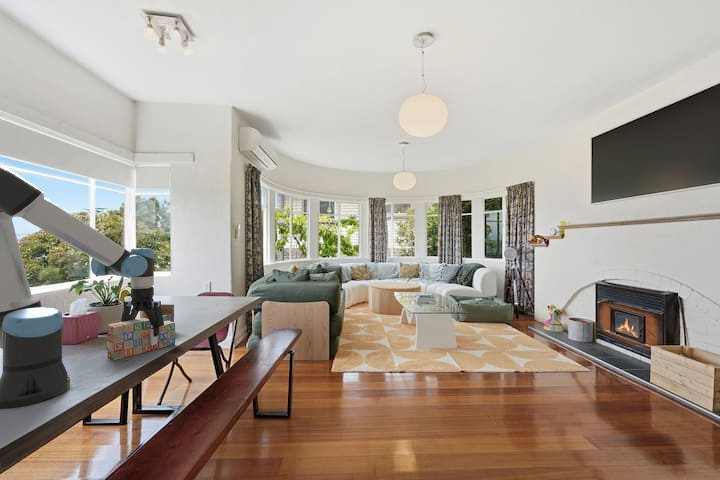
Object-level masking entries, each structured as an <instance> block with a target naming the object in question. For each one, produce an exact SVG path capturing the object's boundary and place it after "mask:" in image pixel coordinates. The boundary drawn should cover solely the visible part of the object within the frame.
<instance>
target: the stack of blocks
mask: <svg viewBox="0 0 720 480" xmlns="http://www.w3.org/2000/svg"><path fill="white" fill-rule="evenodd" d="M151 328H153V327H152V325H151V323H150V321H149V319H146V318H141V319H140V318H135V320H129V321H125V322H121V321H119V322H115V323H110V324H107V335H106V336H107V337H106V338H107V342H108V348H107V357H108V359H109V358H110V359H111V360H113V361H115V360H116V361H117V360H121V359H124V358H129V357H132V356H136V355H140V354H143V353H147V352H150V351H155V350H159V349H163V348H166V347H171V346H173V345H175V344H176V322H175V321H174V322H171V321H164V325H163V326H160V327H159V335H158V336H157V344H155V345H153V346H150V340H151Z"/></svg>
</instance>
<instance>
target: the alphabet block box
mask: <svg viewBox="0 0 720 480" xmlns="http://www.w3.org/2000/svg"><path fill="white" fill-rule="evenodd" d="M152 305H153V304H152ZM152 307H153V306H152ZM161 311H162V316H163V321H171V322H175V304H169V303H168V304H166V303H165V304H164V303H163V304H162V303H161ZM153 312H154V309H153ZM141 318H146V319H148V317H147V315H146V313H144V311H139V319H141ZM106 349H108V341H107V342H106Z"/></svg>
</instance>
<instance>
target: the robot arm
mask: <svg viewBox="0 0 720 480" xmlns="http://www.w3.org/2000/svg"><path fill="white" fill-rule="evenodd" d="M15 217H16V218H17V217H18V218H22V219H23V220H25V221H27V222H28V223H30V224H32V225H34V226H35V227H38V228H39V229H41V230H43V231H45V232H46V233H48V234H49V235H51V236H53V237H55V238H56V239H58V240H60V241H62V242H64V243H65V244H67V245H69V246H71V247H72V248H74V249H76V250H78V251H79V252H81V253H83V254H85V255H87V256H89V257H90V258H91V260H90V261H91V262H90V268H91V272H92V273H93V275H95V276H110V275H113V276H119V277H121V276H122V277H126V278H130V287H131V288H130V298H131V300H126V301H125V300H124V301H123V308H122V309H123V310H122V315H121V319H120V322H125V321H129V320H135V319H137V317H138V314H139V313H140V311H144V313H146V315H147V317H148V319H149V321H150V323H151V325H152V327H153V328H151V340H150V346H153V345H155V344H157V336H158V335H159V327H160V326H163V325H164V321H163V316H162V311H161V304H162V301H161V300H158V301H156V300H154V295H155V292H154V291H155V287H153V286H154V284H155V283H154V281H155V280H154V278H155V277H154V276H155V273H154V272H155V271H154V270H155V253H154V252H155V251H154V249H153V248H149V247H146V248H145V247H142V248H141V247H138V248H137V247H134V248H131V250H130V251H129V250H127V249H126V248H124V247H123V246H121V245H120V244H118V243H116V242H115V241H113V240H112V239H111V238H108V237H107V236H105V235H104V234H103V233H101V232H100V231H98V230H96V228H93V227H92V226H90V225H88V224H87V223H85V222H84V221H82V220H81V219H80V218H77V216H75V215H73V214H71V213H70V212H69V211H67V210H66V209H64V208H62V207H60V206H59V205H57V204H56V203H54V202H53V201H51V200H50V199H48V198H47V197H46V196H45V194H44V191H42V190H41V189H39V188H38V187H37V186H35V185H34V184H32V183H31V182H29V181H28V180H27V179H25V178H23V177H21V176H20V175H19V174H18V173H16V172H15V171H13V170H12V169H9V168H7V167H5V166H2V165H0V349H2V371H1V372H2V373H1V375H0V409H10V408H19V407H25V406H29V405H32V404H36V403H40V402H44V401H47V400H50V399H53V398H55V397H57V396H60V395H62V394H64V393H65V392H66V391H68V390H69V389H70V387H71V377H70V376H69V375H68V372H67V369H66V367H65V364H64V362H63V339H64V338H63V331H64V330H63V328H64V327H63V326H64V317H63V313H62V311H61V310H59V309H57V308H53V307H42V302H41V299H40V298H39V297H37V296H34V295H32V292H31V288H30V284H29V280H28V276H27V273H26V269H25V265H24V262H23V261H24V260H23V257H22V253H21V250H20V245H19V241H18V236H17V233H16V230H15V227H14V226H15V225H14V222H13V218H15ZM152 304H153V305H152ZM152 306H153V307H152ZM153 309H154V312H153Z"/></svg>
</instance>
